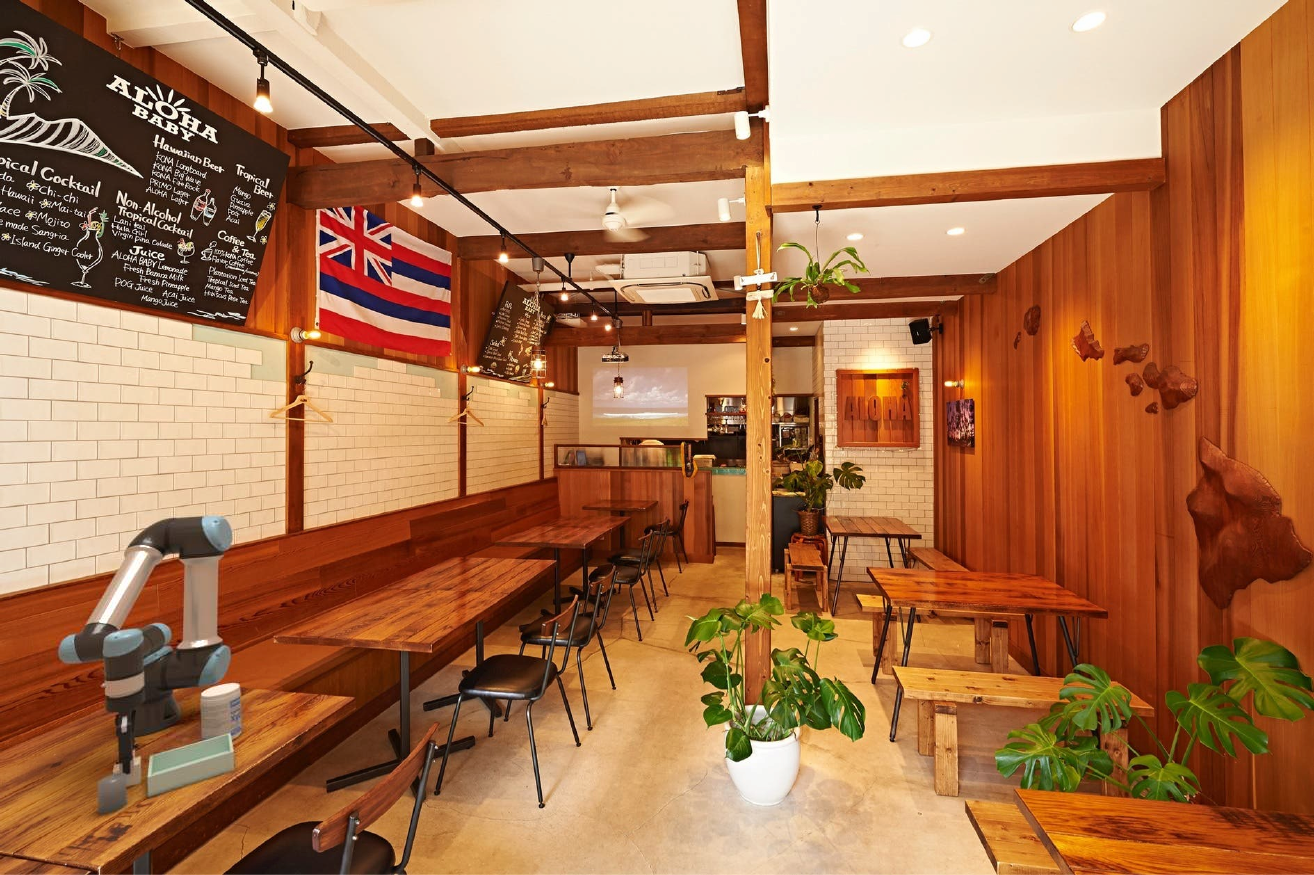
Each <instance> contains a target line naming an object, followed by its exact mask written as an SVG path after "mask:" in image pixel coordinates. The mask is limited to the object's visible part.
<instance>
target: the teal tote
mask: <svg viewBox="0 0 1314 875" xmlns="http://www.w3.org/2000/svg"><path fill="white" fill-rule="evenodd" d="M234 755H235V750H234V746H233V740H232V739H231V733H229V734H225V735H222V736H218V737H215V738H211V739H208V740H204V741H202V740H201V741H197V742H195V743H191V744H186V745H183V746H181V747H177V748H173V749H169V750H166V751H162V752H159V753H155V754H151V755H150V756H149V760H148V761H149V762H148V769H147V770H148V771H147V797H148V798H152V797H154V796H158V795H160V794H163V793H164V794H165V793H167V792H169V791H172V790H173V791H174V790H176V789H180V788H183V787H186V786H189V785H192V784H195V783H198V782H202V781H205V780H209V779H211V778H214V777H217V776H220V775H223V774H226V773H229V772H233V771H235V756H234Z"/></svg>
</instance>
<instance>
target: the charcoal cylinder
mask: <svg viewBox="0 0 1314 875" xmlns="http://www.w3.org/2000/svg"><path fill="white" fill-rule="evenodd" d="M127 791H128V790H127V787H126V774H125V773H117V774H113V773H112V774H110V775H107V776H105V777H104V778H101V779H100V780H99V781H98V782H97V808H98V809H97V810H98V811H97V812H98V815H103V816H106V815H109V814H113V813H115V812H118V811H120V810H122V809H123V808H125V807H126V806H127V804H128V801H127V800H128V798H127V797H128V796H127V794H128V793H127Z"/></svg>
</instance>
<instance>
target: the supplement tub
mask: <svg viewBox="0 0 1314 875" xmlns="http://www.w3.org/2000/svg"><path fill="white" fill-rule="evenodd" d="M241 696H242V694H241V685H240V684H239V683H235V682H231V683H224V684H219V685H215V686H212V687H209V688H208V689H205V690H204V691H202V692H201V694H200V725H201V726H200V727H201V729H200V730H201V741H204V740H208V739H211V738H215V737H218V736H222V735H225V734H229V733H231V739H232V741H234V740H235V739H237V738H238V737H240V735H241V734H242V733H243V732H242V725H243V724H242V697H241Z"/></svg>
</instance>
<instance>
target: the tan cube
mask: <svg viewBox="0 0 1314 875" xmlns="http://www.w3.org/2000/svg"><path fill="white" fill-rule="evenodd" d="M117 773H119V764H117V765H116V764H115V763H114V766H113V769H112V775H113V774H117ZM141 778H142V756H141V755H139V756H137V757H136V756H135V758H134V782H135V784H133V785H130V786H127V787H126V788H128V787H131V786H135V785H138V784H141V780H142V779H141Z"/></svg>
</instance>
